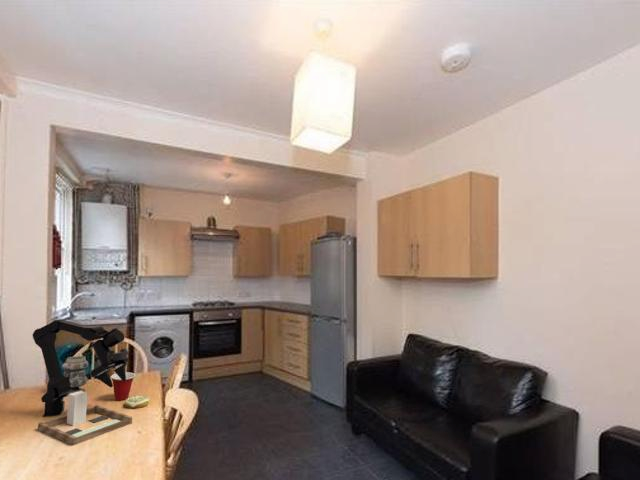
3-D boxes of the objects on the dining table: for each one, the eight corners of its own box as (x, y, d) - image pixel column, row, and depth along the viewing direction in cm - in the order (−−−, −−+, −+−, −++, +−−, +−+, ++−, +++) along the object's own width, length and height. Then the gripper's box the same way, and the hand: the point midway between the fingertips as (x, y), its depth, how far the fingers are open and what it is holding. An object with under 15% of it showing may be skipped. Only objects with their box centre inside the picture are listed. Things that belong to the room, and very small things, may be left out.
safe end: (64, 438, 142) (64, 437, 142) (116, 419, 160) (116, 419, 160) (75, 443, 138) (75, 442, 138) (127, 423, 156) (127, 422, 156)
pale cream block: (66, 423, 156) (68, 394, 157) (79, 419, 160) (81, 390, 161) (73, 425, 153) (75, 396, 154) (85, 421, 157) (87, 392, 158)
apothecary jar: (86, 387, 202) (89, 354, 204) (87, 393, 192) (90, 358, 194) (59, 391, 195) (62, 356, 197) (59, 397, 185) (62, 361, 187)
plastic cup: (119, 404, 178) (120, 379, 179) (104, 400, 182) (106, 376, 183) (138, 397, 187) (140, 373, 188) (124, 394, 192) (125, 370, 193)
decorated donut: (132, 411, 170) (132, 403, 170) (120, 406, 176) (120, 398, 177) (153, 404, 179) (153, 396, 179) (141, 400, 185) (141, 392, 185)
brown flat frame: (37, 429, 149) (38, 423, 149) (96, 410, 169) (97, 405, 170) (73, 445, 136) (73, 438, 136) (132, 423, 157) (132, 416, 157)
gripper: (105, 347, 156) (120, 380, 154) (131, 339, 174) (145, 369, 172) (82, 360, 156) (98, 393, 154) (111, 351, 174) (125, 381, 172)
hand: (118, 383), depth 163 cm, fingers open, 9 cm apart
